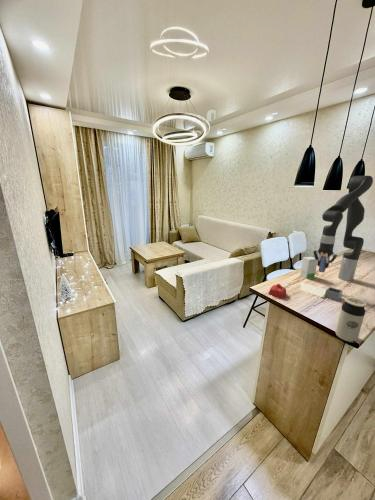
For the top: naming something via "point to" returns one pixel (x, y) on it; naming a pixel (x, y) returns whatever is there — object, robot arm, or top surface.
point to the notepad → (313, 290)
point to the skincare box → (308, 267)
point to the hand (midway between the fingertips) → (322, 266)
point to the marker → (322, 263)
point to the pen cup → (333, 293)
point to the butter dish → (277, 291)
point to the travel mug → (350, 319)
